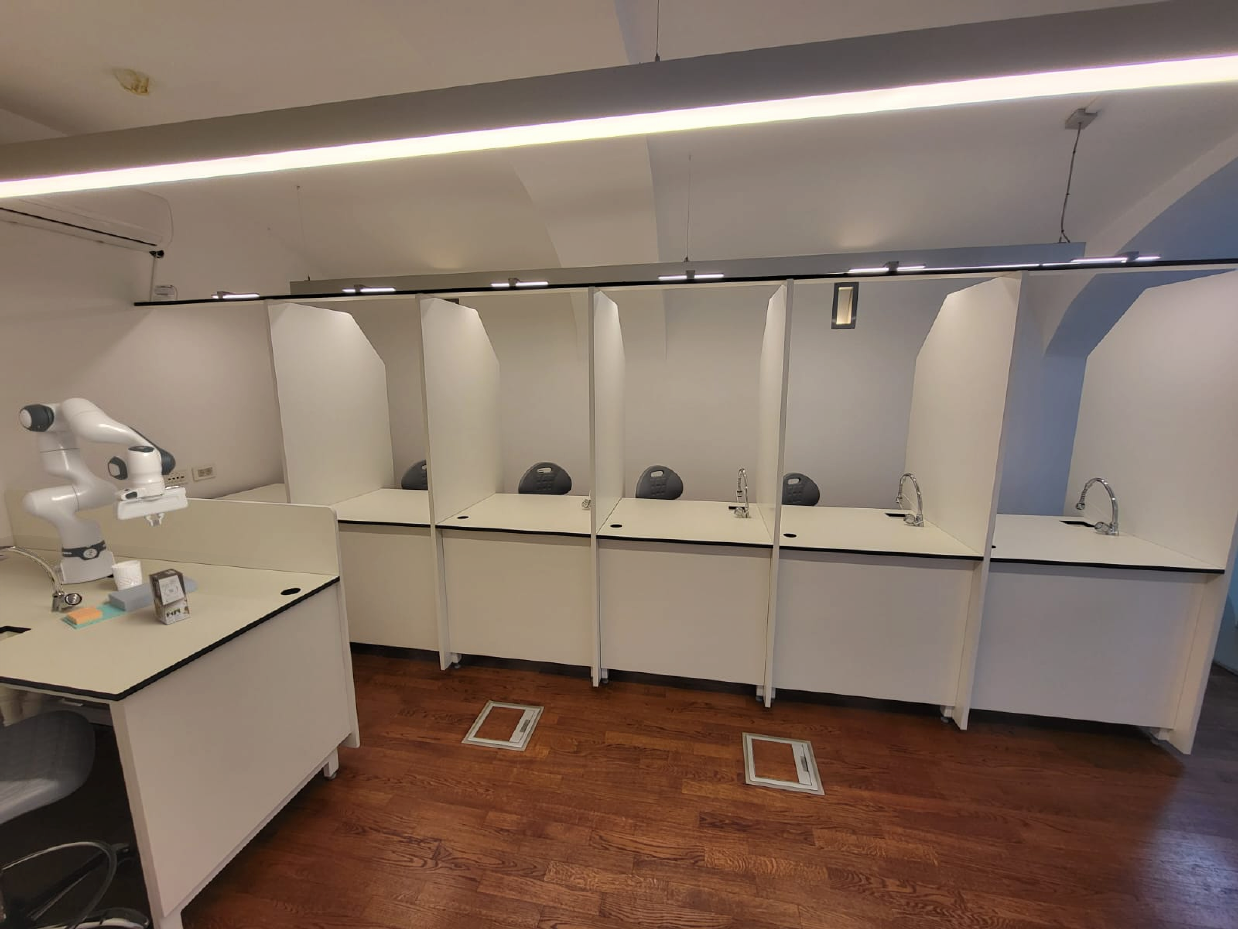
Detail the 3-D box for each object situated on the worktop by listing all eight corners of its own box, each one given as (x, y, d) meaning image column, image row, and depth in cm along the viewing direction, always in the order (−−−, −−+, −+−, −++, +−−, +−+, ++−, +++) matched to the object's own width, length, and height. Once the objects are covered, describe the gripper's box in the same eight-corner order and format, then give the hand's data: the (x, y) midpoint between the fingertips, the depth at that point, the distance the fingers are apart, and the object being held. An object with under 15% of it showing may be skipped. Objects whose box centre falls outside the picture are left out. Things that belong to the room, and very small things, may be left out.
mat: (61, 619, 161) (61, 618, 161) (110, 604, 172) (110, 603, 172) (76, 628, 155) (76, 627, 155) (126, 612, 165) (126, 611, 165)
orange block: (91, 605, 166) (92, 611, 166) (66, 613, 160) (67, 618, 161) (101, 611, 162) (102, 616, 162) (76, 619, 156) (77, 625, 157)
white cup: (114, 594, 179) (109, 569, 178) (118, 587, 185) (112, 563, 184) (143, 588, 184) (138, 564, 182) (146, 582, 190) (141, 558, 188)
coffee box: (191, 617, 162) (183, 573, 159) (166, 625, 157) (157, 580, 154) (180, 610, 167) (172, 567, 164) (156, 618, 161) (147, 574, 159)
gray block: (110, 604, 172) (108, 593, 171) (180, 583, 189) (178, 573, 189) (126, 612, 165) (124, 602, 165) (196, 590, 183) (195, 580, 182)
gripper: (180, 483, 186) (186, 516, 189) (107, 494, 168) (115, 531, 171) (188, 485, 183) (193, 519, 186) (114, 496, 165) (122, 534, 168)
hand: (155, 525), depth 178 cm, fingers closed
